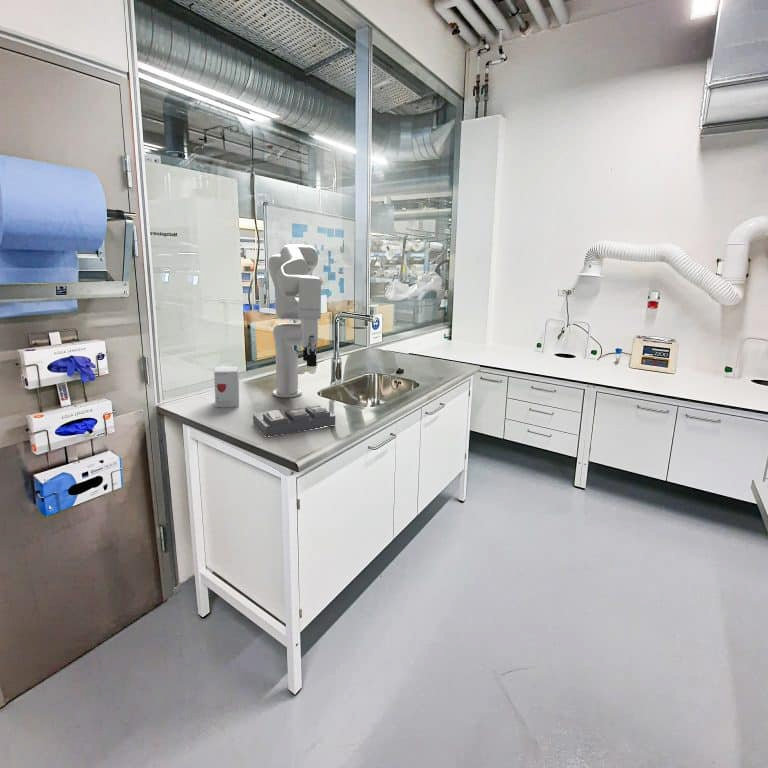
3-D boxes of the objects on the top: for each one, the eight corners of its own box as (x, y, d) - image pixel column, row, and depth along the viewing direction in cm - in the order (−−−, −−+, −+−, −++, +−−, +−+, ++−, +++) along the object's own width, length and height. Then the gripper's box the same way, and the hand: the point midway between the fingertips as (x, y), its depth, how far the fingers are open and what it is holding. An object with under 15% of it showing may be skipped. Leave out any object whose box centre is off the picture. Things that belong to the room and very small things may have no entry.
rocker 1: (267, 414, 158) (267, 410, 157) (278, 412, 160) (278, 409, 159) (272, 422, 153) (273, 419, 153) (284, 421, 155) (284, 417, 155)
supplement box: (215, 408, 178) (213, 371, 174) (216, 401, 186) (215, 366, 182) (239, 407, 180) (237, 371, 176) (239, 400, 189) (238, 365, 185)
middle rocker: (288, 414, 162) (288, 410, 162) (299, 412, 164) (298, 409, 164) (295, 416, 157) (294, 412, 157) (305, 414, 159) (305, 410, 159)
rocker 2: (309, 411, 167) (309, 407, 166) (319, 409, 169) (318, 406, 169) (316, 412, 162) (315, 409, 161) (326, 411, 164) (325, 407, 164)
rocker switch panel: (253, 424, 163) (252, 409, 161) (318, 414, 177) (319, 400, 175) (266, 437, 152) (265, 422, 150) (335, 425, 166) (335, 411, 164)
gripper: (295, 311, 159) (296, 358, 164) (301, 316, 143) (301, 369, 148) (316, 311, 161) (316, 358, 166) (324, 317, 145) (324, 368, 150)
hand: (309, 363), depth 157 cm, fingers open, 9 cm apart
